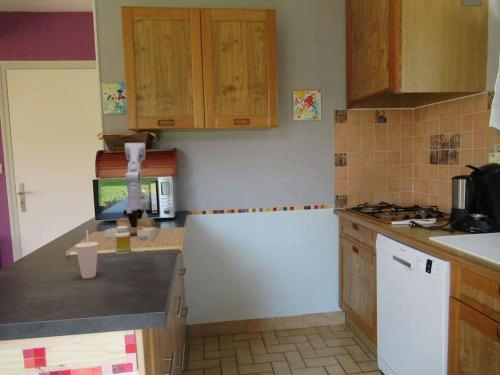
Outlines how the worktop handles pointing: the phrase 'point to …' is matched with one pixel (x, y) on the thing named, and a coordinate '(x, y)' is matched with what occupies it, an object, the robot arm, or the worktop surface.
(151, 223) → the oak rail
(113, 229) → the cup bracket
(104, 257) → the worktop surface
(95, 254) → the smoothie
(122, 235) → the supplement bottle
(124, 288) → the worktop surface
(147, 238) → the cup bracket
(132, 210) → the robot arm
